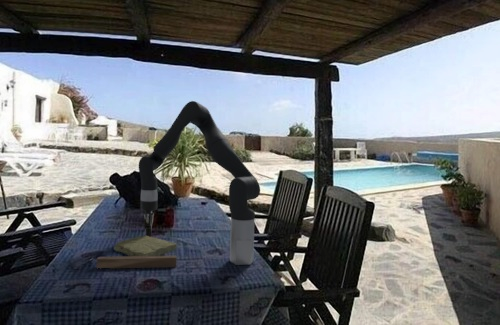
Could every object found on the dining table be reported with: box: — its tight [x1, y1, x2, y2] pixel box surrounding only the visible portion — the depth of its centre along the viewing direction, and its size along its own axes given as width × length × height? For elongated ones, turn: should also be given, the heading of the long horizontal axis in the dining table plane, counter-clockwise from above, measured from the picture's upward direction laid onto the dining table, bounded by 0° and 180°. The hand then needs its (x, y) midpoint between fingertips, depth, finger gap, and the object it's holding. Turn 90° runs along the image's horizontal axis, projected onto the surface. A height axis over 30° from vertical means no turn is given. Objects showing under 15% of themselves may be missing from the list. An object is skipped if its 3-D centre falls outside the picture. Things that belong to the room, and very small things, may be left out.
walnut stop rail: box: [96, 255, 178, 270], centre depth 137 cm, size 2×28×4 cm, turn 99°
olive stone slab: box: [113, 235, 178, 256], centre depth 156 cm, size 19×20×4 cm
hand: (148, 236), depth 172 cm, fingers closed
